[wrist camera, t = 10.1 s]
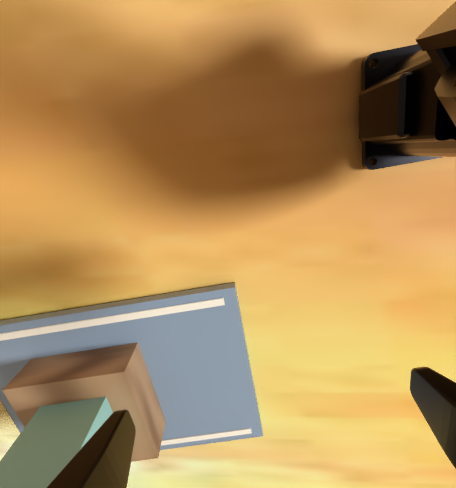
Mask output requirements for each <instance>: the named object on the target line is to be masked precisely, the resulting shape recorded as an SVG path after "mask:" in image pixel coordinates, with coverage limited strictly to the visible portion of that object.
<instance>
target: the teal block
mask: <svg viewBox="0 0 456 488" xmlns="http://www.w3.org/2000/svg"><path fill="white" fill-rule="evenodd" d="M112 413H113V411H112V409H111V407H110V405H109V402H108V400H107V398H106V397H100V398H93V399H87V400H80V401H73V402H67V403H60V404H53V405H47V406H40V408H39V409H38V410H37V412H36V413H35V415H34V416H33V417H32V419H31V420H30V421H29V423H28V424H27V425H26V427H25V428H24V430H23V431H22V432H21V434H20V435H19V436H18V438H17V439H16V441H15V442H14V443H13V445H12V446H11V447H10V449H9V450H8V452H7V453H6V454H5V456H4V457H3V458H2V460H1V461H0V488H47V486H48V485H49V484H50V483H51V482H52V481H53V480H54V479H55V477H56V476H57V475H58V474H59V473H60V472H61V471H62V470H63V468H64V467H65V466H66V465H67V464H68V463H69V462H70V461H71V459H72V458H73V457H74V456H75V455H76V454H77V453H78V452H79V450H80V449H81V448H82V447H83V446H84V445H85V444H86V442H87V441H88V440H89V439H90V438H91V437H92V436H93V435H94V433H95V432H96V431H97V430H98V429H99V428H100V427H101V426H102V424H103V423H104V422H105V421H106V420H107V419H108V418H109V417H110V415H111V414H112Z"/></svg>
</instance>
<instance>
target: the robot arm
mask: <svg viewBox="0 0 456 488" xmlns="http://www.w3.org/2000/svg"><path fill="white" fill-rule="evenodd" d="M416 41H417V43H418V44H417V45H412V46H407V47H402V48H397V49H392V50H387V51H382V52H377V53H373V54H370V55H369V56H367V57H366V58H365V59H364V61H363V62H362V92H361V94H360V95H359V138H360V139H361V140H362V164H363V167H364V168H366V169H370V170H374V169H379V168H385V167H390V166H396V165H402V164H407V163H413V162H418V161H424V160H430V159H435V158H441V157H456V2H455V3H454V4H453V5H452V6H450V7H449V8H448V9H447V10H446V11H445V12H444V13H443V14H442V15H441V16H440V17H439V18H438V19H437V20H436V21H434V22H433V23H432V24H431V25H430V26H429V27H428V28H427V29H426V30H425V31H424V32H423V33H422V34H421V35H420V36H419V37H418V38H417V39H416ZM370 60H372V61H373V62H374V64H375V65H374V68H371V67H370V66H369V62H370ZM371 158H373V159H374V162H373V164H372V165H370V164H369V161H370V159H371ZM410 391H411V394H412V396H413V398H414V400H415V402H416V403H417V405H418V407H419V409H420V410H421V412H422V414H423V416H424V417H425V419H426V421H427V423H428V424H429V426H430V428H431V430H432V431H433V433H434V435H435V437H436V438H437V440H438V442H439V444H440V445H441V447H442V449H443V450H444V452H445V454H446V455H447V457H448V458H449V460H450V461H451V463H452V464H453V466H454V467H455V468H456V383H455V382H453V381H452V380H450V379H448V378H446V377H444V376H443V375H441V374H439V373H437V372H436V371H434V370H432V369H430V368H428V367H419V368H413V369H412V370H411V380H410ZM135 435H136V428H135V425H134V422H133V420H132V417H131V415H130V413H129V411H128V410H126V409H125V410H118V411H115V412H113V413H112V414H111V415H110V417H109V418H108V419H107V420H106V421H105V422H104V423H103V424H102V426H101V427H100V428H99V429H98V430H97V431H96V432H95V433H94V435H93V436H92V437H91V438H90V439H89V440H88V441H87V442H86V444H85V445H84V446H83V447H82V448H81V449H80V450H79V452H78V453H77V454H76V455H75V456H74V457H73V458H72V459H71V461H70V462H69V463H68V464H67V465H66V466H65V467H64V468H63V470H62V471H61V472H60V473H59V474H58V475H57V476H56V477H55V479H54V480H53V481H52V482H51V483H50V484H49V485H48V486H47V488H126V487H127V482H128V476H129V470H130V464H131V459H132V453H133V447H134V441H135Z"/></svg>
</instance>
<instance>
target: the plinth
mask: <svg viewBox="0 0 456 488" xmlns="http://www.w3.org/2000/svg"><path fill="white" fill-rule="evenodd" d="M2 391H3V392H4V394H5V396H6V397H7V399H8V401H9V402H10V404H11V406H12V407H13V409H14V411H15V412H16V414H17V416H18V417H19V419H20V421H21V422H22V424H23V425H24V427H26V425H27V424H28V423H29V421H30V420H31V419H32V417H33V416H34V415H35V413H36V412H37V410H38V409H39V408H40V406H47V405H53V404H60V403H67V402H73V401H80V400H87V399H93V398H100V397H106V398H107V400H108V402H109V405H110V407H111V409H112V411H113V412H115V411H118V410H125V409H126V410H128V411H129V413H130V415H131V417H132V420H133V422H134V425H135V428H136V435H135V441H134V447H133V453H132V459H131V462H132V461H139V460H147V459H154V458H158V456H159V451H160V447H161V442H162V438H163V433H164V429H165V424H166V421H165V418H164V415H163V412H162V409H161V407H160V404H159V401H158V398H157V395H156V392H155V390H154V387H153V384H152V381H151V378H150V375H149V373H148V370H147V367H146V364H145V361H144V358H143V356H142V353H141V350H140V347H139V344H138V342H137V343H131V344H125V345H118V346H112V347H105V348H99V349H92V350H86V351H79V352H73V353H66V354H60V355H54V356H47V357H41V358H34V359H31V360H30V361H29V362H28V363H27V364H26V365H25V366H24V367H23V368H22V370H21V371H20V372H19V373H18V374H17V375H16V376H15V377H14V378H13V379H12V380H11V381H10V382H9V383H8V384H7V386H6V387H5V388H4V389H3V390H2Z"/></svg>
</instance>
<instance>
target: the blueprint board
mask: <svg viewBox="0 0 456 488" xmlns="http://www.w3.org/2000/svg"><path fill="white" fill-rule="evenodd" d="M137 342H138V344H139V347H140V350H141V353H142V356H143V358H144V361H145V364H146V367H147V370H148V373H149V375H150V378H151V381H152V384H153V387H154V390H155V392H156V395H157V398H158V401H159V404H160V407H161V409H162V412H163V415H164V418H165V421H166V424H165V429H164V433H163V438H162V442H161V447H160V450H163V449H171V448H178V447H186V446H193V445H201V444H208V443H216V442H223V441H230V440H238V439H245V438H253V437H260V436H263V432H262V425H261V420H260V415H259V409H258V404H257V399H256V393H255V388H254V383H253V377H252V372H251V367H250V362H249V356H248V351H247V346H246V340H245V335H244V330H243V324H242V319H241V314H240V308H239V303H238V298H237V292H236V287H235V282H233V283H227V284H221V285H215V286H209V287H203V288H197V289H191V290H184V291H178V292H172V293H166V294H160V295H154V296H148V297H142V298H135V299H129V300H123V301H117V302H111V303H105V304H99V305H93V306H86V307H80V308H74V309H68V310H62V311H56V312H50V313H44V314H37V315H31V316H25V317H19V318H13V319H7V320H1V321H0V400H1V402H2V404H3V405H4V407H5V408H6V410H7V412H8V413H9V415H10V416H11V418H12V420H13V421H14V423H15V425H16V426H17V428H18V429H19V431H20V433H21V432H22V431H23V430H24V428H25V427H24V425H23V424H22V422H21V421H20V419H19V417H18V416H17V414H16V412H15V411H14V409H13V407H12V406H11V404H10V402H9V401H8V399H7V397H6V396H5V394H4V392H3V391H2V390H3V389H4V388H5V387H6V386H7V384H8V383H9V382H10V381H11V380H12V379H13V378H14V377H15V376H16V375H17V374H18V373H19V372H20V371H21V370H22V368H23V367H24V366H25V365H26V364H27V363H28V362H29V361H30V360H31V359H34V358H41V357H47V356H54V355H60V354H66V353H73V352H79V351H86V350H92V349H99V348H105V347H112V346H118V345H125V344H131V343H137Z"/></svg>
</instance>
